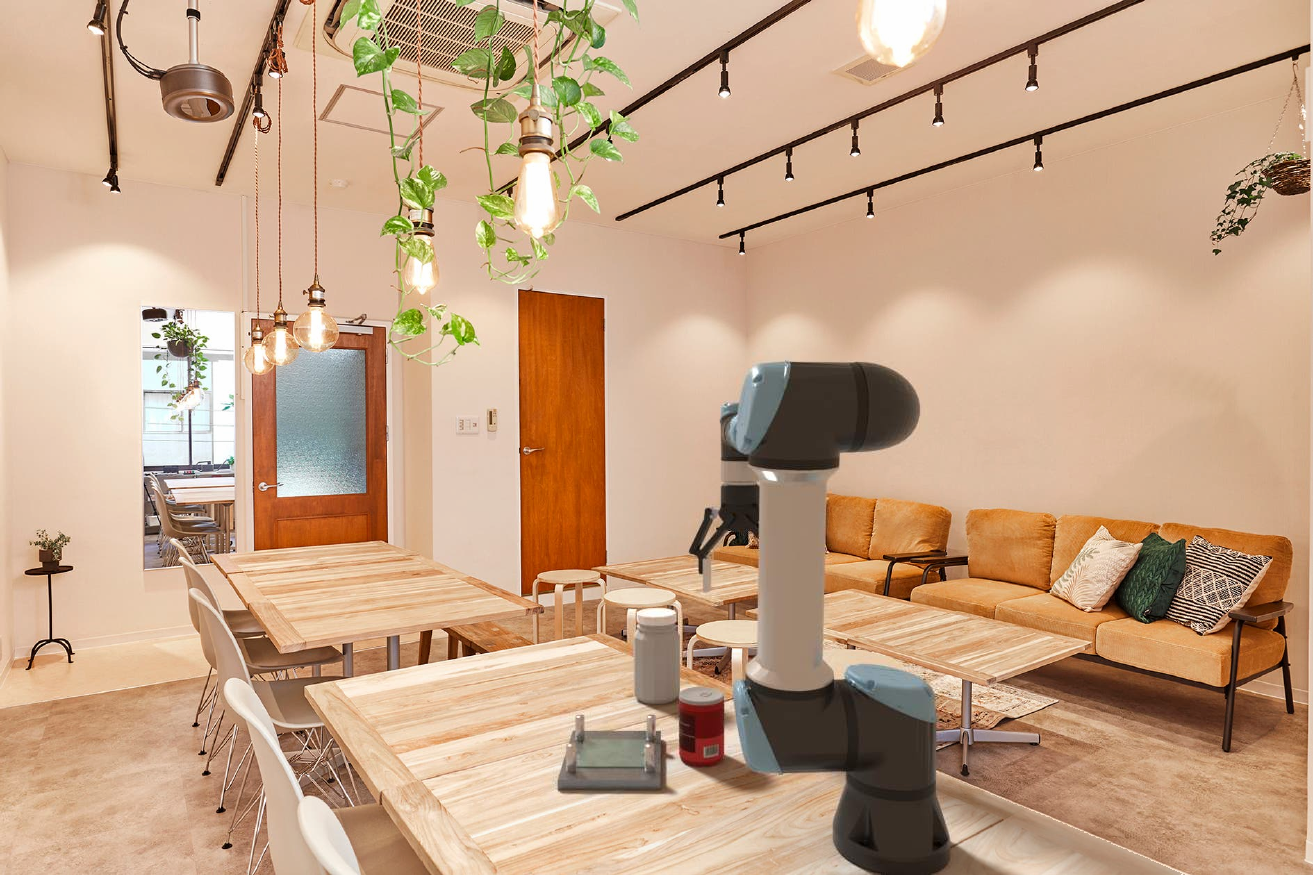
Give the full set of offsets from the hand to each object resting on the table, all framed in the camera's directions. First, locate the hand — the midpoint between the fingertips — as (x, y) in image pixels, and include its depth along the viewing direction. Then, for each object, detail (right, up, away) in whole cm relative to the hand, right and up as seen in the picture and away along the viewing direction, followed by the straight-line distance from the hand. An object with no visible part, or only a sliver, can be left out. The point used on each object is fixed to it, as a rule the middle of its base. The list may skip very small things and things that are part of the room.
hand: (740, 594), depth 148 cm
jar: (-16, -25, +14) cm, 33 cm away
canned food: (-8, -25, -16) cm, 31 cm away
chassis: (-23, -25, -18) cm, 38 cm away
